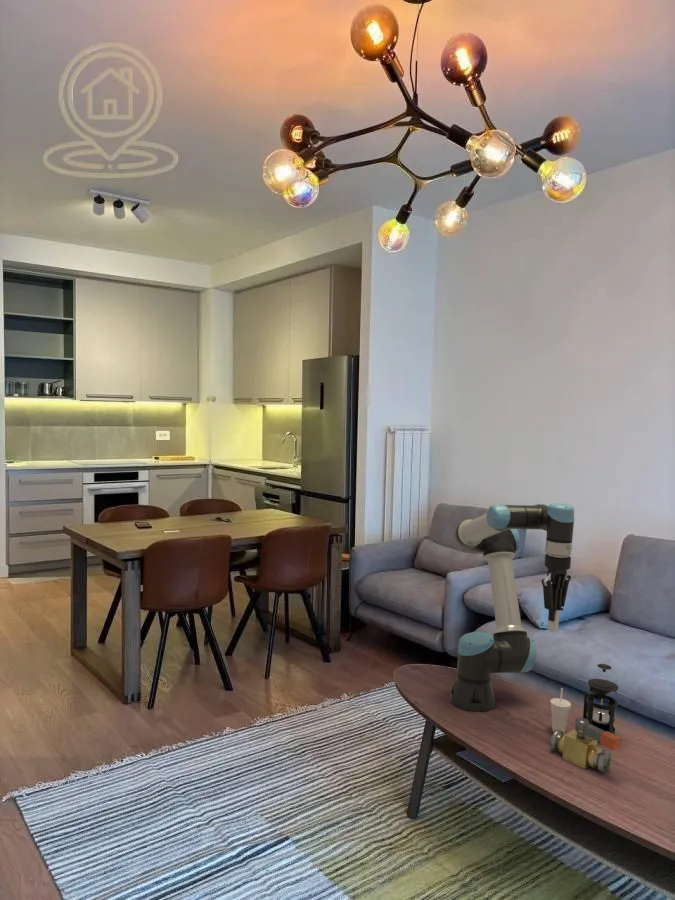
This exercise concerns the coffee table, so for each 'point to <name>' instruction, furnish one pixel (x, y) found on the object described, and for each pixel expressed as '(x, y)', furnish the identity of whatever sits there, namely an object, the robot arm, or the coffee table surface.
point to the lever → (597, 734)
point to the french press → (599, 690)
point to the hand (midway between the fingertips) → (552, 630)
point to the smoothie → (560, 712)
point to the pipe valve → (580, 750)
